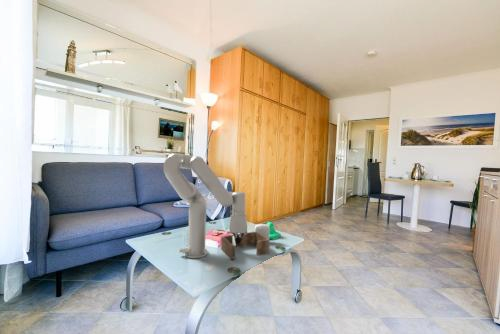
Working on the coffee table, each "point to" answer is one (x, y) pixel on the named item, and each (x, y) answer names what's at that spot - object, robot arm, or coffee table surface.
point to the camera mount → (273, 231)
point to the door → (234, 247)
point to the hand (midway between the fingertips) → (238, 243)
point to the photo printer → (263, 230)
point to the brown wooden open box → (245, 243)
